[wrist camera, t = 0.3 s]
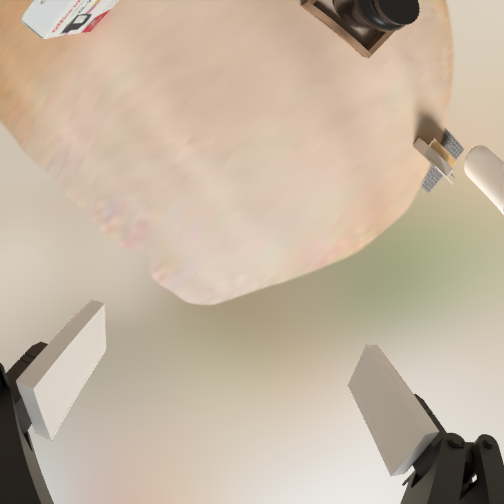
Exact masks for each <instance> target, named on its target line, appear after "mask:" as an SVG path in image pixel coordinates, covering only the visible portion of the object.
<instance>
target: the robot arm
mask: <svg viewBox="0 0 504 504" xmlns="http://www.w3.org/2000/svg"><path fill="white" fill-rule="evenodd" d="M105 351H106V332H105V303H101V302H98V301H94V300H91V301H90V302H89V303H88V304H87V305H86V306H85V307H84V308H83V309H82V310H81V311H80V312H79V313H78V314H77V315H76V316H75V317H74V318H73V319H72V320H71V321H70V322H69V323H68V324H67V325H66V326H65V327H64V328H63V329H62V330H61V331H60V333H58V335H57V336H56V337H55V338H54V339H53V340H52V341H51V342H50V343H49V344H46V343H43V342H39V343H37V344H35V345H33V346H32V347H31V348H30V349H28V351H27V352H26V353H25V355H23V356H22V357H21V358H20V360H18V361H17V362H16V363H15V364H14V365H13V366H12V368H11V369H10V370H9V371H8V372H7V373H5V370H4V367H3V365H2V364H1V363H0V504H54V503H53V501H52V498H51V496H50V494H49V491H48V489H47V486H46V484H45V481H44V478H43V476H42V473H41V470H40V467H39V464H38V461H37V458H36V455H35V452H34V449H33V445H32V442H31V438H30V435H29V432H28V429H29V427H30V426H31V424H32V426H33V428H34V430H35V432H36V433H37V434H39V435H41V436H43V437H45V438H47V439H49V440H51V441H52V440H53V438H54V436H55V434H56V432H57V431H58V429H59V427H60V425H61V423H62V422H63V420H64V418H65V417H66V415H67V413H68V411H69V410H70V408H71V406H72V404H73V403H74V401H75V399H76V398H77V396H78V394H79V393H80V391H81V389H82V388H83V386H84V385H85V383H86V381H87V379H88V378H89V376H90V375H91V373H92V372H93V370H94V368H95V367H96V365H97V364H98V362H99V360H100V359H101V357H102V356H103V354H104V353H105ZM348 386H349V388H350V390H351V392H352V394H353V396H354V399H355V401H356V403H357V405H358V407H359V409H360V411H361V413H362V415H363V417H364V420H365V421H366V424H367V426H368V428H369V430H370V432H371V434H372V436H373V438H374V441H375V443H376V445H377V447H378V449H379V451H380V454H381V456H382V458H383V460H384V462H385V464H386V467H387V469H388V471H389V473H390V475H391V476H396V475H400V474H404V473H406V472H407V471H408V469H409V468H410V467H411V466H412V465H413V467H414V469H415V471H414V472H413V473H412V474H411V475H410V476H409V477H408V478H407V479H406V480H405V481H404V483H403V484H402V485H405V484H406V483H407V482H408V485H407V488H406V491H405V493H404V496H403V499H402V501H401V504H504V465H503V460H502V457H501V453H500V450H499V446H498V443H497V441H496V440H495V439H494V438H493V437H491V436H490V435H486V434H482V435H480V436H479V437H478V439H477V440H476V441H475V442H474V443H473V442H465V441H464V439H463V438H462V437H461V436H459V435H457V434H455V433H447V432H446V431H445V430H444V428H443V427H442V425H441V424H440V422H439V421H438V420H437V418H436V417H435V415H434V414H433V413H432V411H431V410H430V409H429V407H428V406H427V404H426V403H425V402H424V400H423V399H421V398H420V397H419V396H418V395H416V394H413V393H412V391H411V390H410V389H409V387H408V386H407V384H406V383H405V382H404V381H403V379H402V377H401V376H400V375H399V373H398V372H397V371H396V369H395V368H394V367H393V365H392V364H391V363H390V361H389V360H388V359H387V357H386V356H385V354H384V353H383V352H382V350H381V349H380V348H379V346H377V345H366V346H365V348H364V351H363V353H362V355H361V357H360V360H359V362H358V365H357V367H356V369H355V371H354V373H353V375H352V378H351V380H350V382H349V384H348ZM475 475H477V480H476V481H475V482H472V478H473V477H474V476H475Z"/></svg>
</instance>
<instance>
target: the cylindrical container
mask: <svg viewBox="0 0 504 504" xmlns="http://www.w3.org/2000/svg"><path fill="white" fill-rule="evenodd" d="M464 170H465V173H466V175H467V176H468V177H469V178H470V179H471V180H472V181H473V182H474V183H475V184H476V185H477V186H478V187H479V188H480V189H481V190H482V191H483V192H484V193H485V194H486V195H487V196H488V198H489V199H490V200H491V201H492V202H493V203H494V204H495V205H496V206H497V208H498V209H499V210H500V211H501V212H502V213H503V214H504V162H503V161H502V160H501V159H499V158H498V157H497V156H496V155H495V154H493V153H492V152H491V151H490V150H488V149H487V148H486V147H484V146H476V147H475V148H473V149H472V150H471V151H470V152H469V153H468V155H467V157H466V159H465V163H464Z"/></svg>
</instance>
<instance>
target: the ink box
mask: <svg viewBox="0 0 504 504" xmlns="http://www.w3.org/2000/svg"><path fill="white" fill-rule="evenodd" d="M118 1H119V0H34V1H33V2H32V3H31V5H30V6H29V8H28V9H27V11H26V12H25V13H24V15H23V19H22V23H24V24H25V25H26V26H27V27H28V28H29V29H30V30H31V31H33V32H34V33H35V34H36V35H38V36H39V37H40V38H41V39H46V38H52V37H57V36H63V35H69V34H76V33H84V32H90V31H91V30H92V29H93V28H94V27H95V25H96V24H97V23H98V22H99V21H100V20H101V19H102V18H103V17H104V16H105V15H106V14H107V12H108V11H109V10H110V9H111V8H112V7H113V6H114V5H115V4H116V3H117V2H118Z"/></svg>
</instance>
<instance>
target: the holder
mask: <svg viewBox="0 0 504 504" xmlns="http://www.w3.org/2000/svg"><path fill="white" fill-rule="evenodd" d="M316 1H317V0H306V1H305V2H304V3H303V5H302V6H301V7H303V8H304V9H306V10H307V11H308V12H310V13H311V14H313V15H314V16H315V17H317V18H318V19H319V20H320V21H322V22H323V23H324V24H326V25H327V26H328V27H329V28H331V29H332V30H333V31H334V32H336V33H337V34H338V35H339V36H340V37H341V38H343V39H344V40H345V41H346V42H347V43H348V44H350V45H351V46H352V47H353V48H354V49H355V50H356V51H357V52H359V53H360V54H361V55H362V56H363V57H367V58H370V56H371V55H372V54H373V53H374V52H375V51H376V50H377V49H378V48H379V47H380V46H381V45H382V44H383V43H384V42H385V41H386V40H387V39H388V38H389V37H390V36H391V35H392V34H393V33H394V32H395V31H392V32H385V31H379V32H378V33H377V34H376V36H375V37H374V38H373V39H372V40H371V41H370V42H369V43H368V44H367V45H366V46H365V47H363V46H362V45H361V44H360V43H359V42H358V41H357V40H356V39H355V38H353V37H352V36H351V35H350V34H349V33H348V32H347V31H345V30H344V29H343V28H342V27H341V26H339V25H338V24H337V23H336V22H335V21H333V20H332V19H331V18H330V17H328V16H327V15H326V14H324V13H323V12H322V11H321V10H319V9H318V8H317V7H315V6H314V5H313V4H314V3H315V2H316Z"/></svg>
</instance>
